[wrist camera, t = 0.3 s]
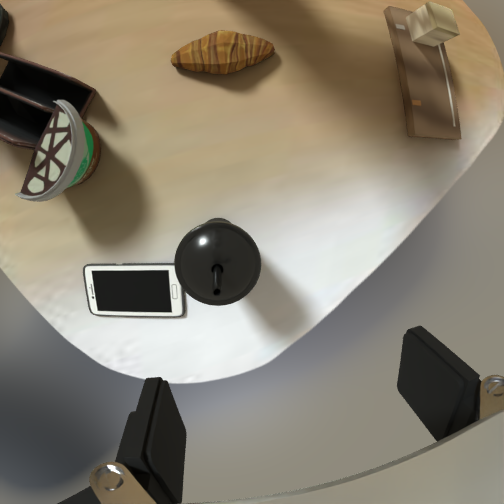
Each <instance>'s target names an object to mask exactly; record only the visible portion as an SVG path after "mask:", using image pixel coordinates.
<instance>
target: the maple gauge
mask: <svg viewBox="0 0 504 504" xmlns="http://www.w3.org/2000/svg"><path fill="white" fill-rule="evenodd" d="M406 20H407V24H408V27H409V31H410V35H411V38H412V41H413V42H418V43H422V44H426V45H429V46H433V47H434V46H436V45H439V44H441V43H443V42H445V41H447V40H449V39H451V38H453V37H456V36H458V35H460V33H459V30H458V27H457V24H456V21H455V18H454V15H453V12H452V9H449V8H446V7H444V6H441V5H438V4H436V3H433V2H430V1H429V2H427V3H426V4H424V5H423V6H421V7H420V8H418V9H417V10H416V11H414V12H413V13H411V14H410V15H409V16H407V17H406Z"/></svg>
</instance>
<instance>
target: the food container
mask: <svg viewBox="0 0 504 504" xmlns="http://www.w3.org/2000/svg"><path fill="white" fill-rule="evenodd" d="M53 102H55V103H56V104H57V105H56V107H55V109H54V111H53V114H52V116H51V118H50V120H49V122H48V124H47V126H46V128H45V130H44V132H43V134H42V136H41V138H40V140H39V142H38V144H37V146H36V148H35V150H34V153H33V156H32V160H31V163H30V166H29V170H28V172H27V175H26V178H25V181H24V184H23V187H22V190H21V192H19V193H16V194H15V195H17V196H18V197H20V198H22V199H26V200H30V201H39V202H40V201H46V200H49V199H52V198H54V197H56V196H57V195H59V194H60V193H61V192H63V191H64V190H65V189H66V188H68V187H71V186H74V185H77V184H81V183H82V182H84V181H85V180H86V179H88V178H89V177H90V176H91V175H92V173H93V172H94V171H95V169H96V167H97V165H98V163H99V159H100V154H101V144H100V139H99V136H98V134H97V132H96V130H95V129H94V128H93V127H92V126H91V125H90V124H89V123H87V122H86V121H84V120H83V119H81V118H80V116H79V114H78V112H77V111H76V109H75V108H74V107H73V106H72V105H71V104H70V103H69V102H67V101H65V100H57V102H56V101H53Z"/></svg>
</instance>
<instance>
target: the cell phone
mask: <svg viewBox="0 0 504 504" xmlns="http://www.w3.org/2000/svg"><path fill="white" fill-rule="evenodd" d="M83 276H84V283H85V289H86V295H87V301H88V307H89V310H90V312H91V313H92V314H93V315H100V316H120V315H122V316H126V317H181V316H183V315H184V312H185V302H184V291H183V288H182V287H181V285H180V283H179V281H178V279H177V277H176V273H175V267H174V263H128V264H87V265H85V266H84V268H83Z"/></svg>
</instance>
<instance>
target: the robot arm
mask: <svg viewBox="0 0 504 504" xmlns="http://www.w3.org/2000/svg"><path fill="white" fill-rule="evenodd" d="M479 376H480V375H479V374H478V373H476V372H475V371H474V370H473V369H472V368H471V367H469V366H468V365H467V364H466V363H465V362H464V361H463V360H461V359H460V358H459V357H458V356H457V355H456V354H454V353H453V352H452V351H451V350H450V349H449V348H447V347H446V346H445V345H444V344H443V343H441V342H440V341H439V340H438V339H437V338H435V337H434V336H433V335H432V334H431V333H429V332H428V331H427V330H426V329H424V328H423V327H422V326H417V327H414V328H411V329H408V330H407V332H406V334H404V337H403V345H402V353H401V361H400V368H399V375H398V382H397V388H398V391H399V393H400V394H401V395H402V396H403V398H404V399H405V400H406V402H407V403H408V404H409V406H410V407H411V408H412V409H413V411H414V412H415V413H416V414H417V416H418V417H419V419H420V420H421V421H422V422H423V424H424V425H425V426H426V428H427V429H428V430H429V432H430V433H431V434H432V436H433V437H434V438H435V439H436V441H438V442H436V443H434V444H432V445H430V446H427V447H425V448H423V449H421V450H419V451H416V452H414V453H412V454H409V455H407V456H404V457H402V458H400V459H398V460H395V461H392V462H389V463H387V464H384V465H382V466H379V467H376V468H373V469H370V470H367V471H364V472H361V473H358V474H355V475H352V476H349V477H345V478H342V479H339V480H335V481H332V482H328V483H324V484H320V485H316V486H312V487H308V488H303V489H299V490H294V491H289V492H284V493H278V494H273V495H266V496H260V497H253V498H245V499H236V500H228V501H217V502H205V503H188V504H504V377H503V376H499V375H491V376H488V377H486V378H485V379H483V380H482V381H481V380H480V379H479ZM185 448H186V429H185V426H184V424H183V421H182V419H181V416H180V414H179V411H178V408H177V406H176V403H175V400H174V398H173V395H172V392H171V390H170V387H169V384H168V382H167V381H166V380H164V381H163V379H162V378H161V377H155V378H146V380H145V383H144V386H143V389H142V392H141V396H140V399H139V402H138V405H137V409H136V411H134V412H131V413H130V414H129V417H128V420H127V423H126V426H125V429H124V433H123V436H122V439H121V443H120V446H119V450H118V453H117V457H116V460H115V462H106V463H103V464H100V465H99V466H97V467H96V468H95V469H94V470H93V471H92V472H91V474H90V477H89V482H90V485H91V486H89V487H88V488H86V489H84V490H82V491H80V492H79V493H77V494H75V495H73V496H71V497H69V498H67V499H65V500H64V501H62V502H60V503H58V504H181V502H182V491H183V475H184V461H185Z"/></svg>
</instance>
